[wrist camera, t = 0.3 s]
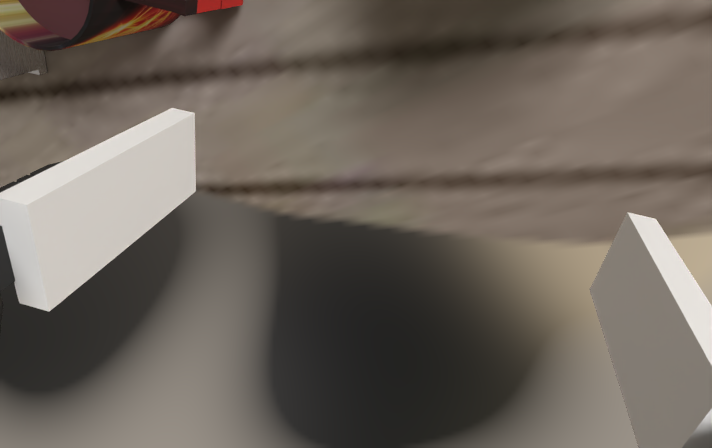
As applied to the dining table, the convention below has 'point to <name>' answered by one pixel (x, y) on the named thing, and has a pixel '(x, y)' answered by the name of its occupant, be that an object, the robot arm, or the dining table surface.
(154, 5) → the mug
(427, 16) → the dining table surface
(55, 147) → the dining table surface
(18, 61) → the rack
